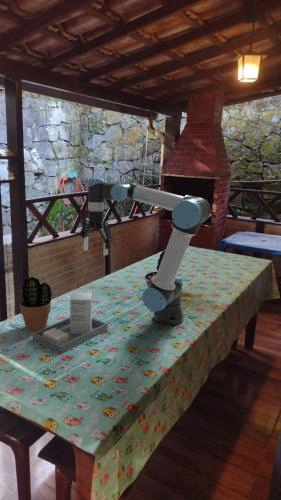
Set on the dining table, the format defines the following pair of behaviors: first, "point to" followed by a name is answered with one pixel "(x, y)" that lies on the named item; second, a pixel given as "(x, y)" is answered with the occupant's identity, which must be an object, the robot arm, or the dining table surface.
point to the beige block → (56, 336)
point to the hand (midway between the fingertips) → (95, 252)
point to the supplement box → (80, 312)
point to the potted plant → (35, 304)
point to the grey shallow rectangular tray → (69, 335)
